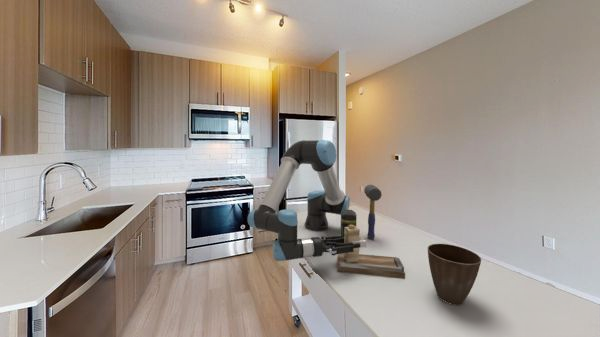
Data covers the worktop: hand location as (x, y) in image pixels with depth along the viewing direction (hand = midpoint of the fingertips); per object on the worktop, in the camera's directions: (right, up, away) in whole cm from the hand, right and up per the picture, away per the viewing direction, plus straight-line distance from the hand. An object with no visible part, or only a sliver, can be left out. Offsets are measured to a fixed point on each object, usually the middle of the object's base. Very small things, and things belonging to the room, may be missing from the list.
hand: (362, 241), depth 98 cm
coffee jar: (-2, -9, +20) cm, 22 cm away
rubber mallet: (+13, -8, +29) cm, 33 cm away
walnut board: (+2, -11, 0) cm, 11 cm away
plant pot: (+24, -13, -21) cm, 34 cm away
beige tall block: (-5, -8, -1) cm, 9 cm away
